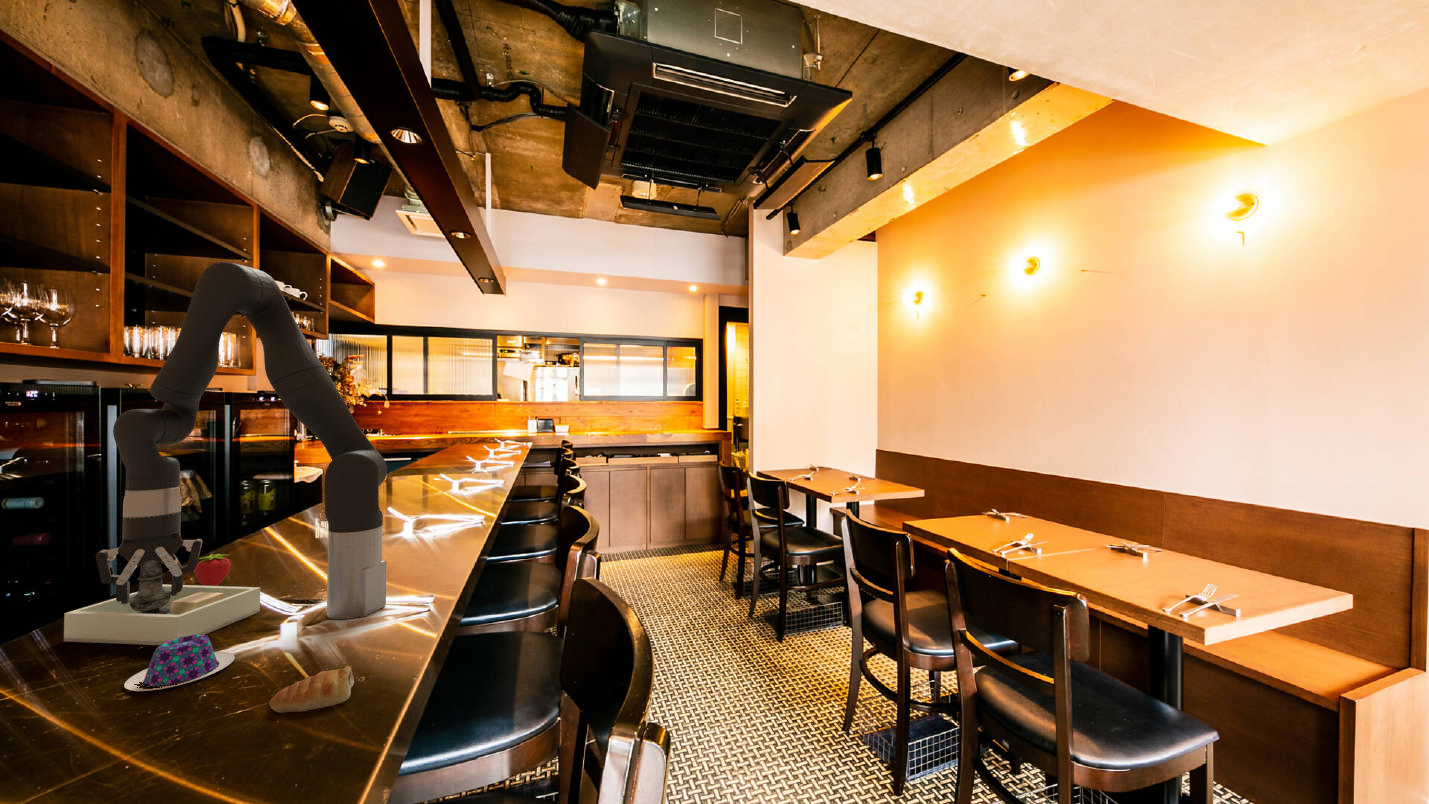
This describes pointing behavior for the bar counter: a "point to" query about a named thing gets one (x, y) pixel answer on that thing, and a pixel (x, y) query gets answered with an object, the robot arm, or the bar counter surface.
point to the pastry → (315, 691)
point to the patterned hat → (180, 663)
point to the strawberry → (212, 569)
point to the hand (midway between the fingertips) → (150, 598)
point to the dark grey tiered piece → (150, 590)
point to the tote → (159, 618)
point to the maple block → (194, 602)
